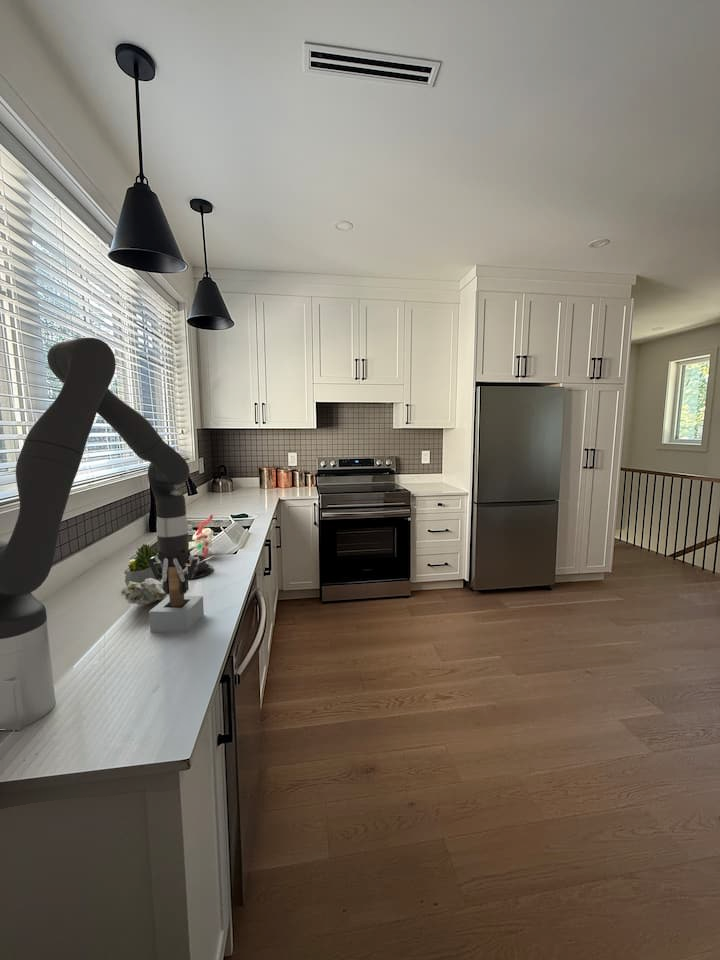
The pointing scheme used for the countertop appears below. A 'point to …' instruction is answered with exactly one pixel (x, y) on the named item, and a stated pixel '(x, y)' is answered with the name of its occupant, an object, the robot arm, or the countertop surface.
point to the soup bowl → (201, 567)
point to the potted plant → (141, 565)
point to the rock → (144, 592)
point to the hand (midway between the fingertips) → (176, 592)
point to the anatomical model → (202, 537)
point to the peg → (175, 589)
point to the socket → (176, 615)
